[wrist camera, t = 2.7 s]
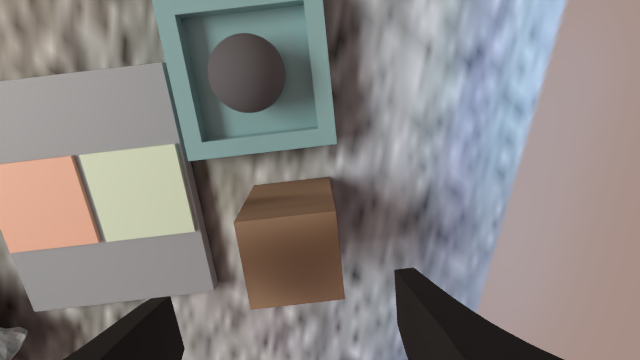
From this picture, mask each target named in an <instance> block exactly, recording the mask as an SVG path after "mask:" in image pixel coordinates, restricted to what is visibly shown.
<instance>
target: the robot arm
mask: <svg viewBox="0 0 640 360" xmlns="http://www.w3.org/2000/svg"><path fill="white" fill-rule="evenodd" d="M394 271H395V288H396V306H397V323H398V327H399V331H400V334H401V338H402V341H403V345H404V348H405V351H406V355H407V357H408V359H409V360H564V359H561V358H559V357H557V356H555V355H552V354H550V353H548V352H546V351H544V350H541V349H539V348H537V347H535V346H533V345H531V344H529V343H527V342H525V341H523V340H521V339H520V338H518V337H515V336H514V335H512V334H510V333H508V332H507V331H505V330H503V329H501V328H499V327H498V326H496V325H494V324H492V323H491V322H489V321H487V320H486V319H484V318H483V317H481V316H480V315H478V314H476V313H475V312H473V311H472V310H470V309H469V308H467V307H466V306H464V305H463V304H461V303H460V302H458V301H457V300H456V299H454V298H453V297H451V296H450V295H449V294H447V293H446V292H445V291H443V290H442V289H441V288H439V287H438V286H437V285H435V284H434V283H433V282H431V281H430V280H429V279H428V278H426V277H425V276H424V275H422V274H421V273H420V272H419V271H417V270H416V269H415V268H407V269H398V270H394ZM184 349H185V348H184V345H183V341H182V337H181V334H180V330H179V326H178V323H177V319H176V316H175V312H174V308H173V305H172V301H171V297H170V296H166V297H158V298H151V299H149V300H148V301H146V302H144V303H143V304H141V305H140V306H138V307H137V308H135V309H134V310H132V311H131V312H130V313H128V314H127V315H126V316H124V317H123V318H121V319H120V320H119V321H117V322H116V323H115V324H113V325H112V326H110V327H109V328H108V329H106V330H105V331H104V332H102V333H101V334H99V335H98V336H97V337H95V338H94V339H93V340H91V341H90V342H88V343H87V344H86V345H84V346H83V347H81V348H80V349H78V350H77V351H75V352H74V353H72V354H71V355H70V356H68V357H67V358H65V359H64V360H181V359H182V356H183V352H184Z"/></svg>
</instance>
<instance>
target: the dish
mask: <svg viewBox="0 0 640 360" xmlns="http://www.w3.org/2000/svg"><path fill="white" fill-rule="evenodd" d="M152 3H153V8H154V12H155V16H156V21H157V25H158V30H159V34H160V39H161V43H162V47H163V52H164V56H165V61H166V65H167V69H168V74H169V78H170V83H171V87H172V92H173V96H174V100H175V105H176V109H177V114H178V118H179V122H180V127H181V131H182V136H183V140H184V145H185V149H186V153H187V158H188V161H195V160H204V159H213V158H221V157H230V156H238V155H247V154H255V153H264V152H273V151H281V150H290V149H298V148H307V147H315V146H324V145H333V144H337V139H336V129H335V119H334V109H333V99H332V89H331V78H330V68H329V58H328V48H327V38H326V28H325V18H324V8H323V0H152ZM238 33H250V34H255V35H258V36H260V37H262V38H264V39H266V40H267V41H269V42H270V43H271V44H272V45H273V46H274V47H275V48H276V49H277V51H278V52H279V54H280V55H281V57H282V60H283V63H284V66H285V73H286V78H285V85H284V88H283V91H282V93H281V95H280V97H279V98H278V99H277V101H276V102H275V103H274V104H273V105H271V106H270V107H268V108H267V109H265V110H263V111H260V112H255V113H243V112H238V111H236V110H233V109H231V108H229V107H228V106H226V105H225V104H223V103H222V102H221V101H220V100H219V99H218V98H217V96H216V95H215V94H214V92H213V90H212V88H211V86H210V83H209V79H208V62H209V58H210V56H211V53H212V52H213V50H214V48H215V47H216V46H217V45H218V44H219V43H220V42H221V41H222V40H223V39H225V38H227V37H229V36H231V35H234V34H238Z"/></svg>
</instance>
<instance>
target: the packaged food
mask: <svg viewBox="0 0 640 360" xmlns="http://www.w3.org/2000/svg"><path fill="white" fill-rule="evenodd" d="M26 336H27V330H25V329H23V328H21V327H15V328H7V329H4V328H0V360H13V359H14V358H15V357H16V355H17V354H18V352H19V351H20V349H21V347H22V344H23V342H24V340H25V338H26Z"/></svg>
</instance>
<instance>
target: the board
mask: <svg viewBox="0 0 640 360" xmlns="http://www.w3.org/2000/svg"><path fill="white" fill-rule="evenodd" d="M0 229H1V231H2V234H3V236H4V239H5V241H6V244H7V246H8V249H9V251H10V253H11V256H12V258H13V261H14V263H15V266H16V268H17V270H18V273H19V275H20V278H21V280H22V283H23V285H24V288H25V290H26V292H27V295H28V297H29V300H30V302H31V305H32V307H33V310H34V312H37V311H46V310H54V309H63V308H72V307H80V306H89V305H97V304H106V303H115V302H123V301H132V300H140V299H149V298H158V297H166V296H175V295H183V294H192V293H201V292H209V291H214V290H215V288H216V286H217V284H218V281H217V276H216V272H215V267H214V263H213V259H212V254H211V250H210V245H209V241H208V236H207V232H206V227H205V223H204V218H203V214H202V210H201V205H200V201H199V196H198V192H197V187H196V183H195V178H194V174H193V169H192V165H191V161H188V158H187V153H186V149H185V145H184V140H183V136H182V131H181V127H180V122H179V118H178V114H177V109H176V105H175V100H174V96H173V92H172V87H171V83H170V78H169V74H168V69H167V65H166V63H162V62H161V63H153V64H144V65H136V66H127V67H119V68H110V69H102V70H93V71H84V72H76V73H67V74H59V75H50V76H42V77H33V78H25V79H16V80H8V81H0Z"/></svg>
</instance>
